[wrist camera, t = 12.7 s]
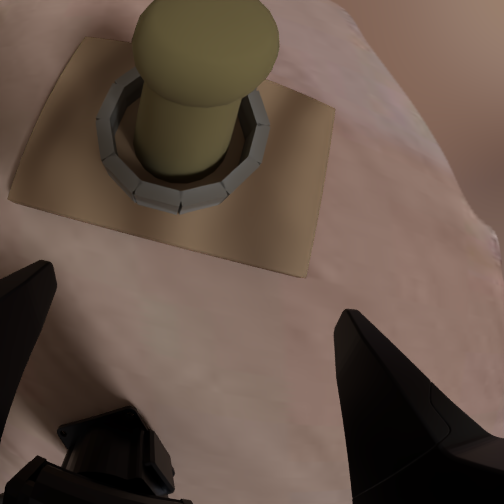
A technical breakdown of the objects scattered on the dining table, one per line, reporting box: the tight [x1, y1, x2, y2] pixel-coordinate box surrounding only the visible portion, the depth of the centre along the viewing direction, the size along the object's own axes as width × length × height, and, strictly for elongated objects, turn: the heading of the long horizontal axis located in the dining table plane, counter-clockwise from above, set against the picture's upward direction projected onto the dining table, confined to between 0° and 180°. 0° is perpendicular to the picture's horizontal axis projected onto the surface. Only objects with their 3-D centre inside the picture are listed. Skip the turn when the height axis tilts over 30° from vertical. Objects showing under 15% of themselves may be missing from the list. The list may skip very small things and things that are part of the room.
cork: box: [132, 0, 279, 184], centre depth 12 cm, size 6×6×11 cm
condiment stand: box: [8, 37, 335, 278], centre depth 17 cm, size 20×13×4 cm, turn 77°
